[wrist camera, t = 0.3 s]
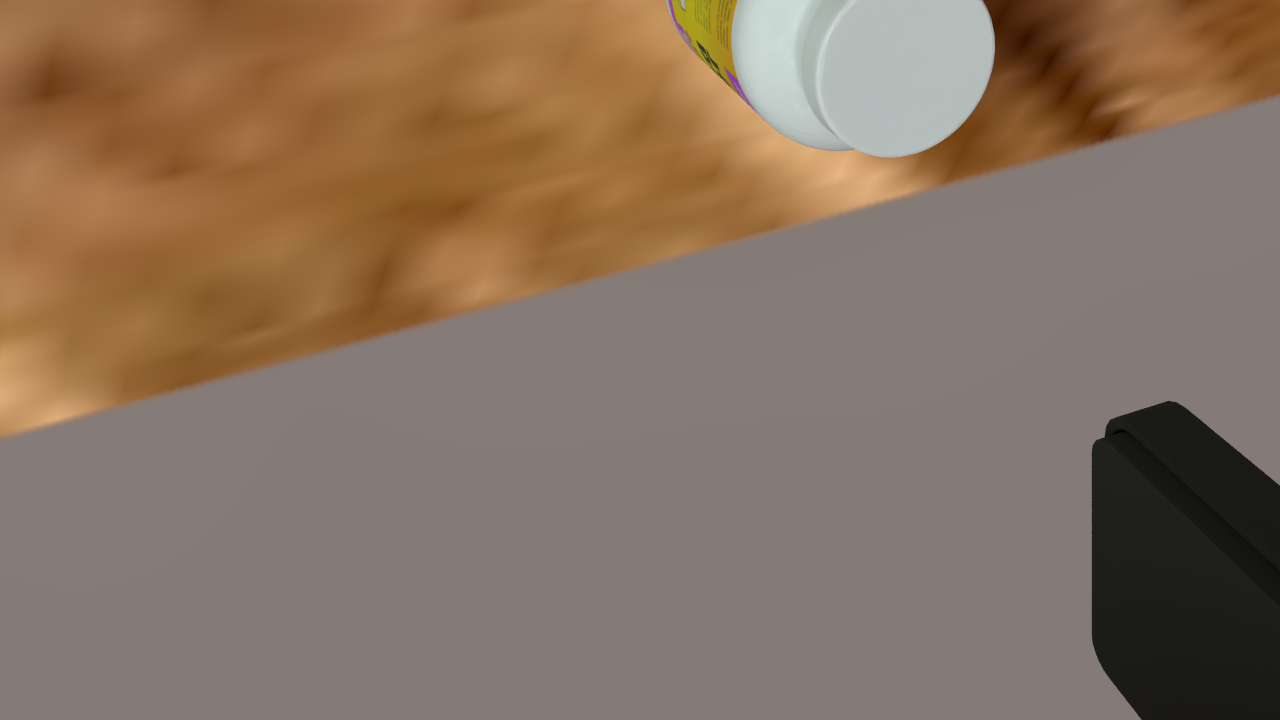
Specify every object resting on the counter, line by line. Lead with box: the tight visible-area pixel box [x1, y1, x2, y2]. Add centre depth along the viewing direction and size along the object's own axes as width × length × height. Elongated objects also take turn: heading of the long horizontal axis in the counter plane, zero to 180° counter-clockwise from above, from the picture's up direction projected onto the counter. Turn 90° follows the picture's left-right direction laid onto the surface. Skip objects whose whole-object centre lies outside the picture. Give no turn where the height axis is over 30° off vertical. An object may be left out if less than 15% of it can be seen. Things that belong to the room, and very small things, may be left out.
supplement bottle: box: [666, 0, 995, 158], centre depth 32 cm, size 7×7×13 cm
